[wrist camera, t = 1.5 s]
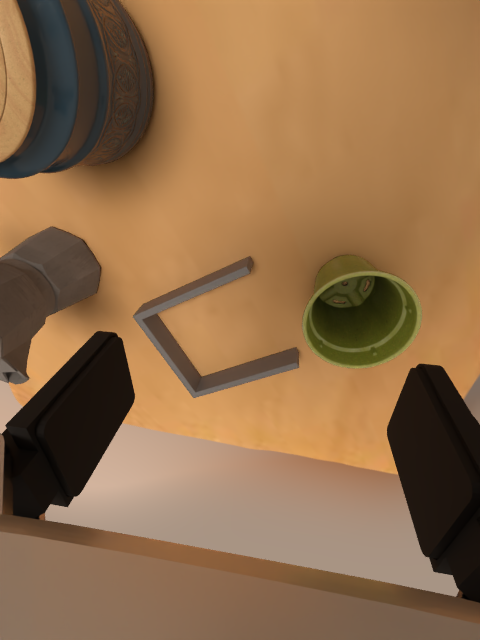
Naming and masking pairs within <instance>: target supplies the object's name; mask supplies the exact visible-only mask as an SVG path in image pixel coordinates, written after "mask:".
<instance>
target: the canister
mask: <svg viewBox="0 0 480 640" xmlns="http://www.w3.org/2000/svg"><path fill="white" fill-rule="evenodd" d="M153 95H154V93H153V77H152V70H151V65H150V61H149V57H148V54H147V51H146V48H145V45H144V43H143V40H142V38H141V36H140V34H139V32H138V30H137V28H136V26H135V25H134V23H133V21H132V20H131V18H130V17H129V15H128V14H127V12H126V11H125V9H124V8H123V6H122V5H121V4H120V2H119V1H118V0H0V178H7V179H18V178H25V177H29V176H32V175H35V174H38V173H55V172H61V171H64V170H67V169H69V168H72V167H74V166H80V165H87V166H93V165H101V164H106V163H110V162H113V161H115V160H117V159H119V158H121V157H122V156H124V155H125V154H126V153H128V152H129V151H130V150H131V149H132V148H133V147H134V146H135V145H136V144H137V143H138V142H139V141H140V139H141V138H142V136H143V134H144V132H145V131H146V128H147V126H148V123H149V120H150V117H151V112H152V107H153Z"/></svg>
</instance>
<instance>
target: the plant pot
mask: <svg viewBox="0 0 480 640" xmlns="http://www.w3.org/2000/svg"><path fill="white" fill-rule="evenodd" d="M367 280H370V285H369V288H368V289H367V290H366V291H364V288H365V286H366V281H367ZM343 282H347V283H348V284H347V285H346V286H343V284H342V283H343ZM333 300H338V301H345V302H346V303H344V304H341V303H334V302H333ZM421 321H422V309H421V304H420V301H419V298H418V296H417V295H416V293H415V291H414V290H413V289H412V288H411V287H410V286H409V285H408V284H407V283H406V282H405V281H404V280H402V279H401V278H399V277H397V276H395V275H393V274H390V273H387V272H383V271H378V270H377V269H376V268H375V267H374V266H372V265H371V264H370V263H369V262H368V261H366V260H365V259H363V258H361V257H358V256H354V255H343V256H338V257H336V258H334V259H333V260H331V261H329V262H328V263H326V264H325V265H324V266H323V267H322V268H321V269H320V271H319V272H318V274H317V277H316V281H315V288H314V295H313V296H312V297H311V299H310V300H309V302H308V304H307V306H306V308H305V311H304V314H303V321H302V328H303V334H304V337H305V340H306V342H307V344H308V346H309V347H310V349H311V350H312V351H313V352H314V353H315V354H316V355H317V356H318V357H320V358H321V359H323V360H325V361H326V362H328V363H330V364H333V365H336V366H340V367H346V368H354V369H355V368H368V367H373V366H377V365H380V364H383V363H386V362H388V361H390V360H392V359H393V358H395V357H397V356H398V355H400V354H401V353H402V352H403V351H405V350H406V349H407V348H408V347H409V346H410V344H411V343H412V342H413V340H414V339H415V337H416V335H417V333H418V331H419V329H420V325H421Z"/></svg>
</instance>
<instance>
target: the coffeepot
mask: <svg viewBox="0 0 480 640" xmlns="http://www.w3.org/2000/svg"><path fill="white" fill-rule="evenodd" d="M99 281H100V266H99V264H98V262H97V260H96V258H95V256H94V254H93V253H92V251H91V250H90V249H89V247H88V246H87V245H86V244H85V243H84V242H83V240H82V239H80V238H78V237H76V236H74V235H72V234H70V233H69V232H66V231H63V230H58V229H56V228H54V227H49V228H47V229H45V230H43V231H41V232H39V233H37V234H35V235H33V236H31V237H29V238H28V239H26V240H25V241H23V242H22V243H21V244H19V245H18V246H16V247H15V248H14V249H12V250H11V251H9V252H8V253H7V254H5V255H4V256H2V257H1V258H0V380H2V381H4V382H7V383H9V382H11V383H14V384H21V383H24V382H26V381H28V380H29V377H28V375H27V373H26V368H27V359H28V354H29V349H30V344H31V339H32V338H33V337H34V335H35V334H36V333H37V332H38V331H39V330H40V329H41V328H42V326H43V325H44V324H45V320H46V317H47V316H49V315H51V314H54V313H56V312H58V311H60V310H62V309H64V308H66V307H68V306H71V305H73V304H75V303H77V302H79V301H81V300H83V299H85V298H87V297H89V296H91V295H93V294H95V293H97V288H98V284H99Z"/></svg>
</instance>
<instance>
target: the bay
mask: <svg viewBox="0 0 480 640" xmlns="http://www.w3.org/2000/svg"><path fill="white" fill-rule="evenodd" d="M252 265H253V261H252V259H251V257H250V256H249V257H247V258H245V259H242V260H240V261H238V262H236V263H233V264H231V265H229V266H227V267H225V268H222V269H220V270H218V271H216V272H213V273H211V274H209V275H207V276H204V277H202V278H200V279H198V280H196V281H193V282H191V283H189V284H187V285H184V286H182V287H180V288H178V289H176V290H173V291H171V292H169V293H167V294H164V295H162V296H160V297H158V298H156V299H153V300H151V301H149V302H147V303H144V304H143V305H142V306H141V307H140V308H139V309H138V311H137V312H136V313H135V314H134V315H133V318H134V319H135V320H136V322H137V323H138V324H139V326H140V327H141V328H142V330H143V331H144V332H145V334H146V335H147V336H148V338H149V339H150V340H151V342H152V343H153V344H154V346H155V347H156V348H157V350H158V351H159V352H160V354H161V355H162V356H163V358H164V359H165V361H166V362H167V363H168V365H169V366H170V367H171V369H172V370H173V371H174V373H175V374H176V375H177V377H178V378H179V379H180V381H181V382H182V383H183V385H184V386H185V387H186V389H187V390H188V391H189V393H190V394H191V395H192V397H193V398H196V397H199V396H203V395H206V394H210V393H213V392H217V391H220V390H224V389H227V388H230V387H234V386H237V385H241V384H244V383H248V382H251V381H255V380H258V379H262V378H265V377H268V376H272V375H275V374H279V373H282V372H286V371H289V370H293V369H296V368H299V352H298V350H297V348H296V347H295V348H292V349H289V350H286V351H283V352H279V353H276V354H273V355H270V356H267V357H263V358H260V359H257V360H254V361H251V362H248V363H244V364H241V365H238V366H235V367H232V368H229V369H225V370H222V371H219V372H216V373H213V374H210V375H206V376H203V377H201V376H200V375H199V373H198V372H197V370H196V369H195V367H194V366H193V365H192V363H191V362H190V360H189V359H188V358H187V356H186V355H185V353H184V352H183V350H182V349H181V348H180V346H179V345H178V343H177V342H176V341H175V339H174V338H173V336H172V335H171V333H170V332H169V331H168V329H167V328H166V326H165V325H164V323H163V322H162V321H161V319H160V318H159V316H158V315H157V314H156V313H158V312H161V311H163V310H165V309H168V308H170V307H172V306H175V305H177V304H179V303H182V302H184V301H187V300H189V299H191V298H194V297H196V296H198V295H201V294H203V293H205V292H208V291H210V290H212V289H215V288H217V287H219V286H222V285H224V284H226V283H229V282H231V281H233V280H236V279H238V278H240V277H243V276H245V275H247V274H250V272H251V268H252Z"/></svg>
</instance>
